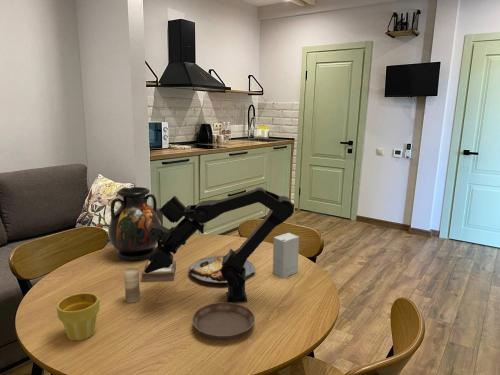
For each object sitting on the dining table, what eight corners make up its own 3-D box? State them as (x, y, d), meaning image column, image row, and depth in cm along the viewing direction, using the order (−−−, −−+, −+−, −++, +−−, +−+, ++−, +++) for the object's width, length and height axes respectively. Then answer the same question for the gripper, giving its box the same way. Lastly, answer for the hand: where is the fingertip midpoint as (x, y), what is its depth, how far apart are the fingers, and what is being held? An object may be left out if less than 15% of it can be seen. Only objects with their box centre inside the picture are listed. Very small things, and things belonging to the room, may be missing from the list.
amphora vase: (119, 269, 143) (114, 198, 137) (103, 252, 160) (98, 188, 154) (171, 256, 156) (169, 191, 150) (151, 242, 172) (148, 182, 167)
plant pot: (55, 348, 95) (52, 313, 93) (64, 326, 105) (61, 294, 103) (99, 342, 98) (96, 308, 96) (103, 321, 108) (100, 290, 106)
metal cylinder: (138, 302, 119) (137, 273, 117) (124, 303, 118) (122, 274, 116) (141, 295, 123) (139, 267, 121) (127, 296, 122) (125, 268, 120)
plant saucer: (222, 304, 119) (222, 295, 118) (266, 325, 108) (267, 315, 107) (179, 328, 105) (179, 319, 105) (225, 355, 94) (225, 344, 94)
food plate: (222, 293, 125) (222, 283, 124) (175, 275, 139) (175, 266, 138) (265, 271, 144) (265, 262, 144) (220, 257, 158) (220, 249, 158)
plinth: (173, 280, 134) (173, 272, 133) (142, 281, 133) (141, 273, 132) (176, 267, 145) (175, 260, 144) (147, 269, 143) (146, 261, 143)
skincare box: (287, 267, 146) (288, 231, 143) (298, 273, 142) (300, 235, 139) (271, 273, 141) (272, 236, 138) (282, 279, 136) (284, 240, 133)
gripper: (166, 207, 125) (133, 239, 126) (159, 224, 107) (121, 261, 108) (190, 229, 128) (158, 260, 129) (187, 249, 109) (150, 285, 110)
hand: (147, 266), depth 119 cm, fingers open, 9 cm apart
